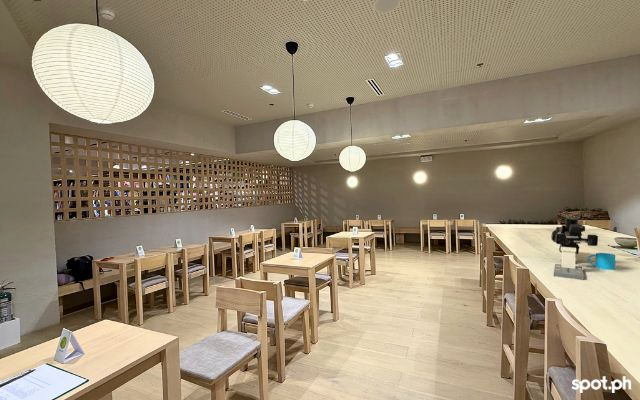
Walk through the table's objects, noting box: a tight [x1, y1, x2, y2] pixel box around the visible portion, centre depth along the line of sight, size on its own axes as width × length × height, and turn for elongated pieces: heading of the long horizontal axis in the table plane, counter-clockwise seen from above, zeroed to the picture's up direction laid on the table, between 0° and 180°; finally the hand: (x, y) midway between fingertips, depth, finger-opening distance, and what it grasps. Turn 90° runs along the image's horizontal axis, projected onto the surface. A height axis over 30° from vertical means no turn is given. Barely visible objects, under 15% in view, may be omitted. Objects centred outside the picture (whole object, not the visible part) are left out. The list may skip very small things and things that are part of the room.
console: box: [553, 263, 584, 281], centre depth 163 cm, size 22×12×2 cm, turn 139°
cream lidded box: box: [561, 247, 576, 269], centre depth 167 cm, size 4×7×11 cm, turn 49°
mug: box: [586, 252, 616, 271], centre depth 172 cm, size 12×8×8 cm
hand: (580, 244), depth 164 cm, fingers open, 9 cm apart
